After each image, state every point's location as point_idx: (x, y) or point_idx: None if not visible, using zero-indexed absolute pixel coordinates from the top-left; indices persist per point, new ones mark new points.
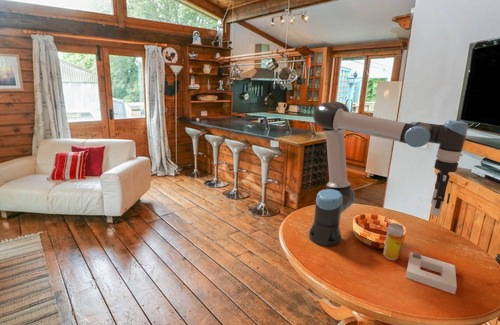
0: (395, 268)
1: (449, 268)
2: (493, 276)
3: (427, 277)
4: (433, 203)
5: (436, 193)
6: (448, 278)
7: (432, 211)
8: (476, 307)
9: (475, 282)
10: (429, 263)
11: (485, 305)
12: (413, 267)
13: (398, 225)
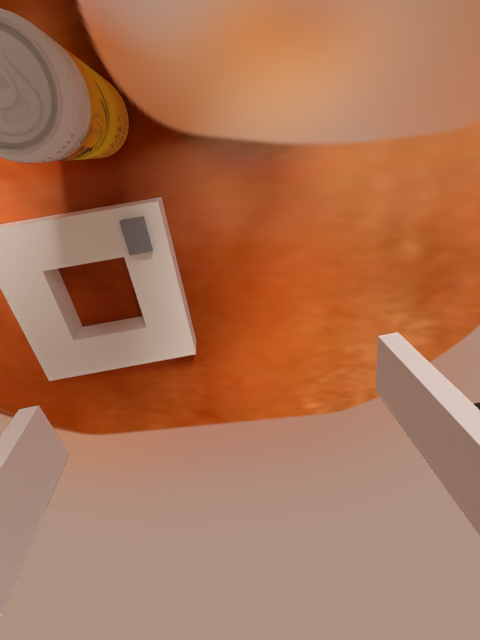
0: (16, 171)
1: (155, 346)
2: (261, 416)
3: (10, 305)
4: (380, 359)
5: (467, 469)
6: (80, 355)
7: (2, 444)
8: (51, 409)
9: (185, 391)
10: (133, 286)
11: (84, 421)
12: (30, 246)
13: (43, 100)
